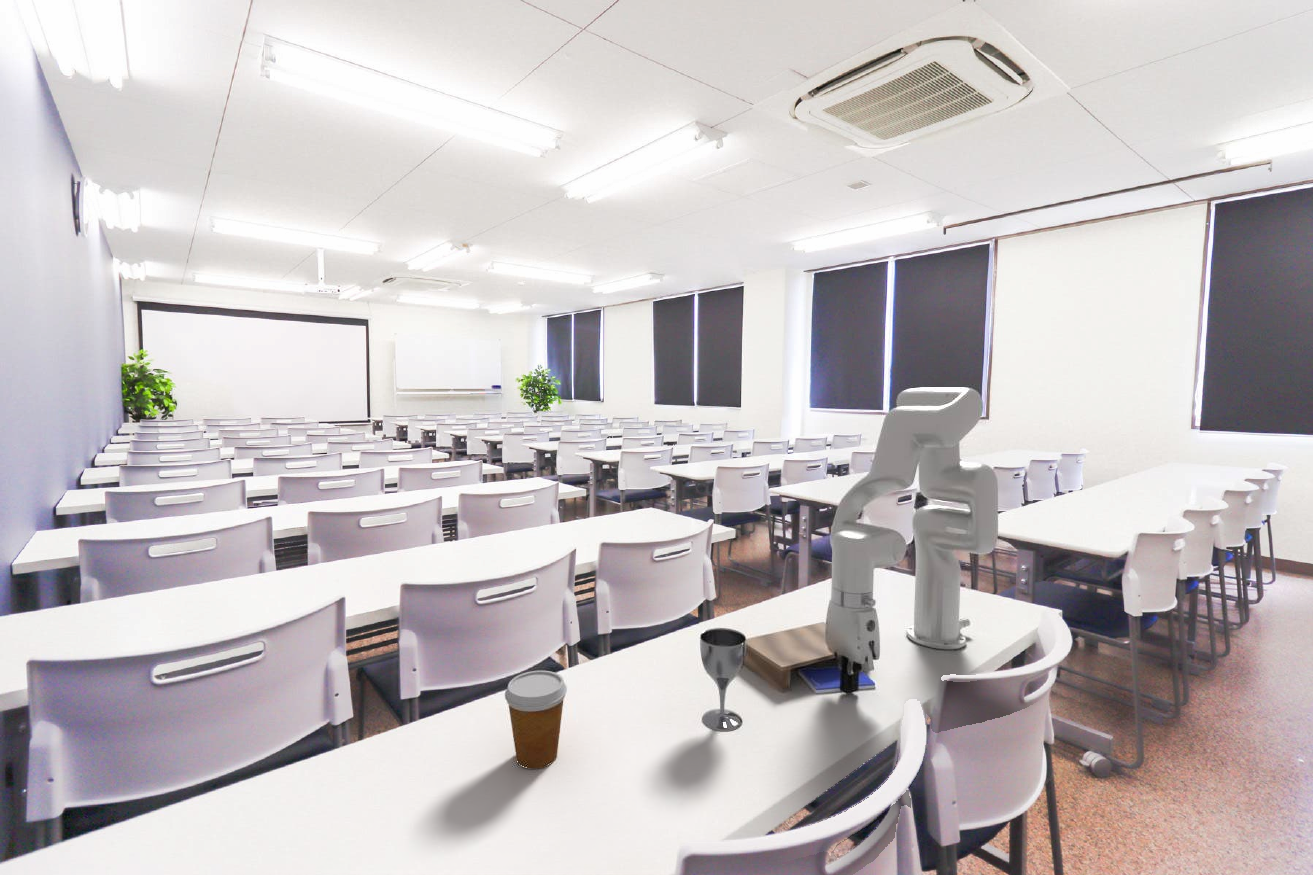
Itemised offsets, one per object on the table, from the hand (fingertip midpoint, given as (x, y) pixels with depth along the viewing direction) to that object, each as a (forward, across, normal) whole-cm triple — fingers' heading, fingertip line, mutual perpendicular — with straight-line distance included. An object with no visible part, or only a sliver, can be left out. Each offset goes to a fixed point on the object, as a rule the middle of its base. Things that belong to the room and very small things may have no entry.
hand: (849, 690), depth 112 cm
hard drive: (+1, +5, -2) cm, 6 cm away
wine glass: (+1, +3, +27) cm, 27 cm away
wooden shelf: (+1, +13, 0) cm, 13 cm away
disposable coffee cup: (+1, +8, +59) cm, 59 cm away
